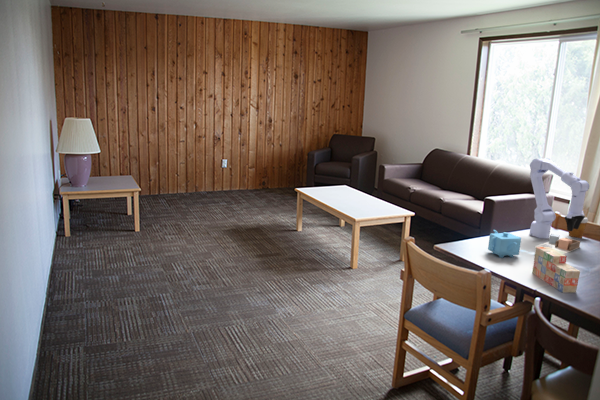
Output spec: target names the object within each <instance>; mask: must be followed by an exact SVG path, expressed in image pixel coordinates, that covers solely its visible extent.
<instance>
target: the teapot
mask: <svg viewBox="0 0 600 400" xmlns="http://www.w3.org/2000/svg"><path fill="white" fill-rule="evenodd" d="M521 240H522V237H520V236H517V235H514V234H512V233H511V232H505V231H504V232H498V231H497V230H496V229H493V233H490V234H489V240H488V247H487V251H490V252H492V253H491V254H494V255H497V256H498V258H500V259H503V258H504V257H505V256H508V257H509V258H514V257H515V256H519V255H520V249H521V243H522V241H521Z"/></svg>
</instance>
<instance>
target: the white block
mask: <svg viewBox="0 0 600 400" xmlns="http://www.w3.org/2000/svg"><path fill="white" fill-rule="evenodd" d="M559 239H560V235H559V234H554V233H550V235H549V238H548V242H549V243H552V244H555V243H556V241H557V240H559Z"/></svg>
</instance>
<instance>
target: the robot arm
mask: <svg viewBox="0 0 600 400" xmlns="http://www.w3.org/2000/svg"><path fill="white" fill-rule="evenodd" d="M529 167H530V173H529V174H530V175H529V177H530V180H531V181H530V182H531V185H532V189H533V193H534V194H533V195H534V199H535V203H536V208H535V209H534V210H533V211H534V216H533V217H534V218H533V219H534V220H533V221H532V222H531V224H530V229H529V234H528V235H529V236H533V237H536V238H537V239H549V237H550V235H551V229H552V228H551V227H552V224H553V222H554V221H555V220H556V217H557V216H556V213H555V211H554V210H553V207H552V205H549V202H548V197H547V193H546V189H545V185H544V180H543V176H544V175H545V174H546V173H547V172H548V171H550V172H551V173H554V175H557V176H558V177H560V180H561V181H562V182H563V183H565V184H566V185H567V186H569V187H570V190H571V200H570V205H569V211H568V213H567V214H566V215H565V216H564V220H565V222H566V230H567V231H568V232H569V231H572V230H573V229H578V228H579V226H580V224H581V222H582V220H583V219H584V218H585V217H586V216H585V213H584V204H585V198H586V194H587V192H588V191H589V189H590V183H589V182H588V181H587V180H585V179H582V178H581V177H578V176H577V175H575V174H574V172H572V171H566V170H564V169H563V168H561V167H560V165H558V164H556V163H555V162H554V161H553V160H552V159H550V158H548V157H546V158H534V159H532V160H531V162H530V163H529Z"/></svg>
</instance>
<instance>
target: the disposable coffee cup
mask: <svg viewBox="0 0 600 400" xmlns="http://www.w3.org/2000/svg"><path fill="white" fill-rule="evenodd" d="M588 222H589V219H588V217H586V216H585V218H584V219H583V220H582V222H581V224H580V226H579V228H578V229H573V230H572V231H568V237H570V238H571V237H572V238H578V239H582V238H583V235H584V232H585V229H586V226H587V223H588Z"/></svg>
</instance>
